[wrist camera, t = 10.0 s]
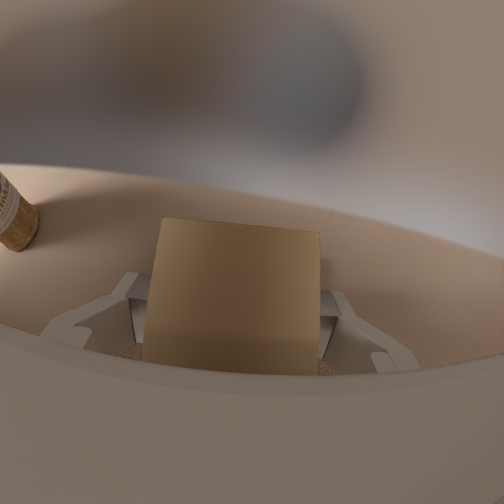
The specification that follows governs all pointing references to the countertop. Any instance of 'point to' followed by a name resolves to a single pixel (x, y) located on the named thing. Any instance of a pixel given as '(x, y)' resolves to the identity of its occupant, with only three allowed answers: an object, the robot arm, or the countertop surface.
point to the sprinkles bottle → (15, 217)
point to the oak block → (234, 299)
